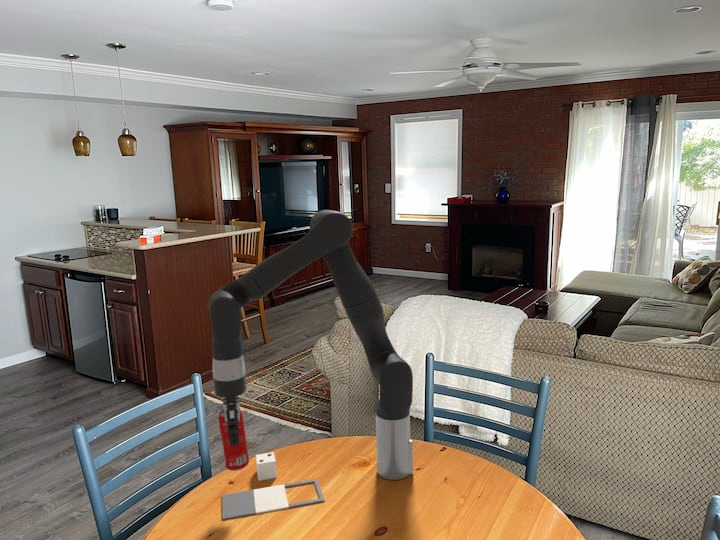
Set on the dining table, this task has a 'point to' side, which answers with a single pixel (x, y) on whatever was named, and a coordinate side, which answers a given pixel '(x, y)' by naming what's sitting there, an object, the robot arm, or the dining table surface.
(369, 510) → the dining table surface
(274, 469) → the die
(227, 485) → the dining table surface
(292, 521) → the dining table surface
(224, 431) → the beverage can
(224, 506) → the grey frame tray
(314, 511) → the dining table surface
